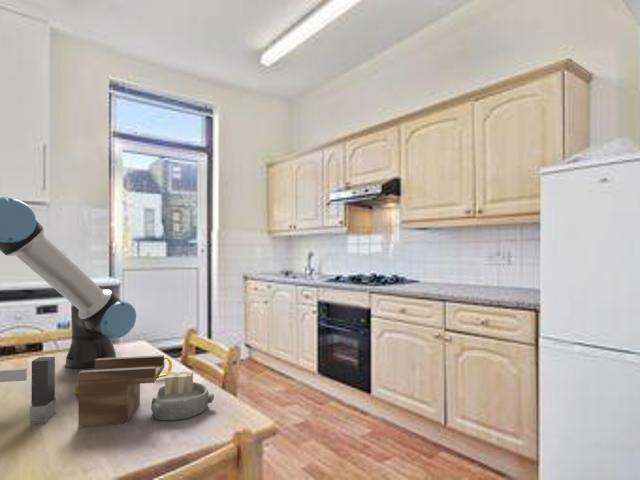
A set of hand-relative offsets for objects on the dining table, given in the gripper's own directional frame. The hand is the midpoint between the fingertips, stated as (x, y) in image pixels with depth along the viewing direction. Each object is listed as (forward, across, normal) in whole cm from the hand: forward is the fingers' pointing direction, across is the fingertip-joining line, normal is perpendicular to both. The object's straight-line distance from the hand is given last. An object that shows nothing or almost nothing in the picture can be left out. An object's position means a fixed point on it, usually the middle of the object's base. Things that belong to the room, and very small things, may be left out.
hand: (10, 383), depth 95 cm
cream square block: (+37, +1, -2) cm, 37 cm away
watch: (+28, -28, -9) cm, 40 cm away
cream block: (+34, 0, -2) cm, 34 cm away
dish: (+38, 0, -9) cm, 39 cm away
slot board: (+24, 0, -9) cm, 26 cm away
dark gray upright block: (+7, 0, -9) cm, 11 cm away
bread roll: (+12, -16, -9) cm, 22 cm away
